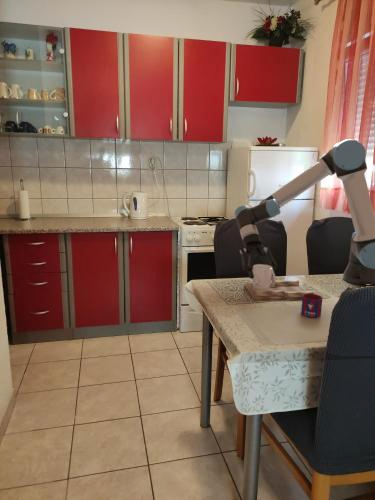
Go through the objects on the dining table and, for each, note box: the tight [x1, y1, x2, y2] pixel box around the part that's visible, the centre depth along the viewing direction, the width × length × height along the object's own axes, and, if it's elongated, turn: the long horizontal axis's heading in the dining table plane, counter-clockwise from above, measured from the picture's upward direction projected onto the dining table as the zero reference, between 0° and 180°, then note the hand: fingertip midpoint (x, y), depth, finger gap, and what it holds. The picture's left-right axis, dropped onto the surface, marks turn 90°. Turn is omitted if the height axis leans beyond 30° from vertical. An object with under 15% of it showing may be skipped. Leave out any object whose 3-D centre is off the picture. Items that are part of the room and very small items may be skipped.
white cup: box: [252, 263, 272, 291], centre depth 150 cm, size 8×8×10 cm
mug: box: [300, 292, 323, 319], centre depth 130 cm, size 7×10×7 cm
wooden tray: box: [243, 279, 314, 301], centre depth 152 cm, size 24×17×3 cm
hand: (265, 284), depth 147 cm, fingers closed on white cup, 8 cm apart
